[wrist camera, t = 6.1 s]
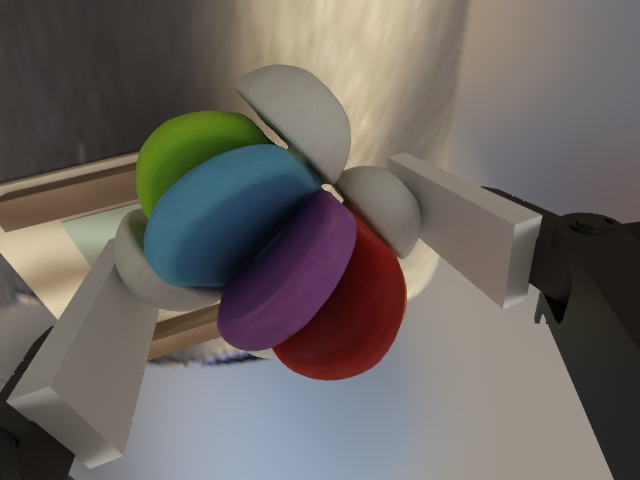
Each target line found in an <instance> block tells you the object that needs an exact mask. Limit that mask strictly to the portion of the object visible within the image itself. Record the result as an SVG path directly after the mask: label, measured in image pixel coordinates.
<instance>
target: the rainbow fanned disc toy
mask: <svg viewBox="0 0 640 480" xmlns="http://www.w3.org/2000/svg"><path fill="white" fill-rule="evenodd" d="M235 90H236V91H237V93H238V94H239V95H240V96H241V97H242V98H243V99H244V100H245V101H246V102H247V103H248V104H249V105H250V106H251V107H252V108H253V109H254V110H255V111H256V113H257V115H258V116H259V118H260V119H262V120H263V122H264V123H265V124H266V125H267V126H269V127H270V128H271V129H272V130H273V131H274V132H275V133H277V135H278V136H279V137H280V138H281V139H282V140H283V141H284V142H285V143H286V144H287V145H288V147H289V148H288V149H285V148H283V147H280V146H278V145H276V144H275V143H273V142H272V141H271V140H270V139H268V138H267V137H266V135H265V134H264V133H263V132H262V131H261V129H260V128H259V127H258V126H257V125H256V124H255V123H254V122H253V121H251V120H250V119H249V118H248V117H247V116H245V115H242V114H239V113H228V112H222V111H198V112H193V113H188V114H184V115H181V116H178V117H175V118H173V119H170V120H168V121H166V122H165V123H163V124H162V125H160V126H159V127H158V128H157V129H156V130H155V131H154V132H153V133H152V134H151V135H150V137H149V138H148V139H147V140H146V141H145V143H144V144H143V146H142V148H141V150H140V152H139V155H138V160H137V164H136V188H137V194H138V199H139V202H140V205H141V207H142V209H135V210H132V211H130V212H128V213H127V214H126V215H125V216H124V217H123V218H122V220H121V222H120V225H119V227H118V229H117V232H116V235H115V240H114V260H115V264H116V268H117V271H118V273H119V275H120V277H121V279H122V281H123V282H124V284H125V285H126V286H127V288H128V289H129V290H130V291H131V292H132V293H133V294H134V295H136V296H137V297H138V298H139V299H141V300H142V301H144V302H146V303H147V304H149V305H152V306H154V307H157V308H160V309H163V310H168V311H176V312H185V311H194V310H199V309H202V308H205V307H208V306H210V305H212V304H214V303H216V302H218V301H220V305H219V310H218V314H217V329H218V331H219V333H220V335H221V336H222V337H223V339H224V340H225V341H226V342H228V343H229V344H230V345H232V346H233V347H235V348H238V349H240V350H244V351H246V352H248V353H250V354H252V355H254V356H257V357H261V358H267V359H278V358H279V359H280V360H281V362H282V363H283V364H284V365H286V366H287V367H288V368H290V369H291V370H293V371H294V372H296V373H298V374H301V375H304V376H306V377H309V378H313V379H318V380H327V381H328V380H339V379H345V378H350V377H353V376H356V375H358V374H361V373H363V372H365V371H367V370H369V369H371V368H372V367H373V366H375V365H376V364H377V363H378V362H379V361H381V359H382V358H383V356H384V355H385V354H386V353H387V352H388V350H389V348H390V346H391V345H392V343H393V342H394V340H395V337H396V335H397V333H398V330H399V327H400V325H401V323H402V320H403V317H404V314H405V310H406V305H407V289H406V283H405V279H404V275H403V272H402V269H401V267H400V265H399V262H398V259H397V257H399V258H401V259H405V258H406V257H407V256H408V255H409V254H410V252H411V251H412V250H413V248H414V246H415V244H416V242H417V240H418V237H419V234H420V228H421V211H420V207H419V204H418V202H417V200H416V198H415V197H414V195H413V194H412V193H411V191H410V190H409V189H408V188H407V187H406V186H405V185H404V184H403V183H402V182H401V181H400V180H399V179H398V178H397V177H396V176H395V175H393V174H392V173H391V172H389V171H387V170H385V169H383V168H380V167H373V166H359V167H354V168H350V169H347V170H345V171H343V170H344V168H345V165H346V163H347V159H348V156H349V152H350V145H351V132H350V124H349V120H348V117H347V114H346V112H345V110H344V109H343V107H342V106H341V104H340V102H339V101H338V100H337V99H336V97H335V96H334V95H333V93H332V92H331V91H330V90H329V89H328V88H327V87H326V86H325V85H324V84H323V83H322V82H321V81H320V80H319V79H318V78H316V77H315V76H314V75H313V74H312V73H310V72H308V71H307V70H304V69H302V68H298V67H294V66H288V65H270V66H265V67H262V68H259V69H256V70H254V71H252V72H250V73H248V74H246V75H245V76H244V77H242V78H241V79H239V80H238V81H237V82H236V84H235ZM323 184H330V185H332V187H333V188H334V189H335V191H336V192H337V193H338V194H339V195H340V196H341V197H342V199H343V200H344V201H343V203H341V202H339V201H338V200H337V199H336V198H335V197H334V196H333V195H332V193H331V192H328V191H325V190H324V189H323V188H322V187H321V185H323Z"/></svg>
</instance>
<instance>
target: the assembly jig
mask: <svg viewBox="0 0 640 480" xmlns="http://www.w3.org/2000/svg"><path fill="white" fill-rule="evenodd" d="M139 152H140V151H138V152H133V153H129V154H125V155H121V156H116V157H112V158H108V159H103V160H99V161H95V162H91V163H86V164H82V165H78V166H73V167H69V168H65V169H60V170H56V171H52V172H48V173H43V174H39V175H35V176H30V177H26V178H22V179H18V180H13V181H9V182H5V183H0V253H1V254H2V255H3V256H4V257H5V259H6V260H7V261H8V262H9V263H10V265H11V266H12V267H13V268H14V269H15V270H16V272H17V273H18V274H19V275H20V276H21V277H22V279H23V280H24V281H25V282H26V283H27V284H28V286H29V287H30V288H31V289H32V290H33V291H34V293H35V294H36V295H37V296H38V297H39V299H40V300H41V301H42V302H43V303H44V304H45V306H46V307H47V308H48V309H49V310H50V311H51V313H52V314H53V315H54V316H55V317H56V318H57V320H58V319H59V318H60V316H61V315H62V313H63V311H64V310H65V308H66V307H67V305H68V304H69V302H70V300H71V299H72V297H73V296H74V294H75V293H76V291H77V289H78V288H79V286H80V285H81V283H82V282H83V280H84V278H85V277H86V275H87V274H88V272H89V271H90V269H91V267H92V266H93V264H94V263H95V261H96V260H97V258H98V257H99V255H100V253H101V252H102V250H103V249H104V247H105V246H106V244H107V242H108V241H109V239H113V238H115V235H116V232H117V229H118V227H119V225H120V222H121V220H122V218H123V217H124V216H125V215H126V214H127V213H128V212H130V211H132V210H135V209H142V207H141V205H140V202H139V199H138V194H137V188H136V164H137V160H138V155H139ZM219 305H220V301H218V302H216V303H214V304H212V305H210V306H208V307H205V308H202V309H199V310H194V311H185V312H176V311H168V310H163V309H159V313H158V317H157V322H156V326H155V330H154V334H153V338H152V342H151V346H150V350H149V354H148V358H147V361H148V360H151V359H154V358H157V357H160V356H163V355H166V354H169V353H172V352H175V351H178V350H181V349H184V348H187V347H190V346H193V345H196V344H199V343H202V342H205V341H208V340H211V339H214V338H217V337H220V336H221V335H220V333H219V331H218V329H217V314H218V310H219Z"/></svg>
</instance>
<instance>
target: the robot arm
mask: <svg viewBox="0 0 640 480" xmlns="http://www.w3.org/2000/svg"><path fill="white" fill-rule="evenodd" d="M388 164H389V172H391V173H392V174H393V175H395V176H396V177H397V178H398V179H399V180H400V181H401V182H402V183H403V184H404V185H405V186H406V187H407V188H408V189H409V190H410V191H411V193H412V194H413V195H414V197H415V198H416V200H417V202H418V204H419V207H420V211H421V228H420V234H419V238H420V239H421V240H422V241H423V242H425V243H426V244H427V245H428V246H429V247H431V248H432V249H433V250H434V251H435V252H436V253H438V254H439V255H440V256H441V257H442V258H443V259H445V260H446V261H447V262H448V263H449V264H450V265H452V266H453V267H454V268H455V269H456V270H458V271H459V272H460V273H461V274H462V275H463V276H465V277H466V278H467V279H468V280H469V281H471V282H472V283H473V284H474V285H475V286H476V287H478V288H479V289H480V290H481V291H482V292H484V293H485V294H486V295H487V296H488V297H489V298H490V299H492V300H493V301H494V302H495V303H496V304H498V305H499V306H500V307H501V308H502V309H504V308H506V307H509V306H512V305H514V304H517V303H519V302H522V301H525V300H526V297H527V292H528V287H529V283H530V284H532V285H533V286H535V287H536V288H538V289H539V290H540V294H539V298H538V303H537V308H536V312H535V317H534V320H535V323H538V324H539V323H540V319H541V315H542V314H544V316H545V319H546V324H548V326H549V328H550V330H551V333H552V335H553V337H554V339H555V342H556V344H557V347H558V349H559V351H560V354H561V356H562V358H563V361H564V363H565V365H566V368H567V370H568V373H569V375H570V377H571V380H572V382H573V384H574V387H575V389H576V391H577V394H578V396H579V398H580V401H581V403H582V405H583V408H584V410H585V413H586V415H587V417H588V419H589V422H590V424H591V427H592V429H593V431H594V434H595V436H596V438H597V441H598V443H599V446H600V448H601V450H602V453H603V454H604V457H605V460H606V462H607V464H608V467H609V469H610V471H611V473H612V476H613V478H614V480H640V222H634V223H626V224H621V223H619V222H618V221H616V220H615V219H612V218H610V217H607V216H604V215H598V214H593V213H571V214H566V215H563V216H559V215H556V214H554V213H552V212H549V211H547V210H544V209H542V208H540V207H538V206H535V205H533V204H531V203H528V202H526V201H524V202H523V200H522V199H519V198H517V197H515V196H514V197H512V195H510V194H508V193H506V192H503V191H501V190H499V189H493V188H489V187H483V186H481V187H479V186H477V185H475V184H473V183H470V182H468V181H466V180H464V179H462V178H460V177H457V176H455V175H453V174H451V173H449V172H446V171H444V170H442V169H440V168H438V167H436V166H433V165H431V164H429V163H427V162H425V161H422V160H420V159H418V158H416V157H414V156H411V155H409V154H407V153H405V152H404V153H401V154H398V155H394V156H391V157H388ZM114 240H115V238H113V239H109V241H108V242H107V244H106V246H105V247H104V249H103V250H102V252H101V253H100V255H99V257H98V258H97V260H96V261H95V263H94V264H93V266H92V267H91V269H90V271H89V272H88V274H87V275H86V277H85V278H84V280H83V282H82V283H81V285H80V286H79V288H78V289H77V291H76V293H75V294H74V296H73V297H72V299H71V300H70V302H69V304H68V305H67V307H66V308H65V310H64V311H63V313H62V315H61V316H60V318H59V319H58V321H57V323H56V324H55V326H52V327H50V328H49V329H48V330H47V331H46V332H45V333H44V334H43V335H41V336H40V337H39V338H38V339H37V340H36V341H35V342H34V343H33V345H32V346H31V348H30V349H29V351H28V352H27V354H26V355H25V357H24V358H23V359H24V361H22V362H21V363H20V364H19V366H18V367H17V369H16V370H15V371H14V373H15V375H12V376H11V377H10V379H9V380H8V382H7V383H6V385H5V386H4V388H3V389H2V391H1V392H0V480H74V479H73V478H72V477H71V476H69V475H68V473H69V471H70V468H71V465H72V463H73V460H74V457H76V458H77V459H78V460H80V461H81V462H82V463H83V464H85V465H86V466H87V467H88V468H93V467H96V466H98V465H101V464H103V463H106V462H109V461H111V460H113V459H116V458H119V457H121V456H123V455H124V452H125V448H126V444H127V440H128V436H129V432H130V427H131V423H132V419H133V415H134V411H135V407H136V403H137V399H138V395H139V390H140V386H141V383H142V378H143V374H144V370H145V366H146V362H147V358H148V354H149V350H150V346H151V342H152V338H153V334H154V330H155V326H156V322H157V317H158V313H159V309H160V308H157V307H154V306H152V305H149V304H147V303H146V302H144V301H142V300H141V299H139V298H138V297H137V296H136V295H134V294H133V293H132V292H131V291H130V290H129V289H128V288H127V286H126V285H125V284H124V282H123V281H122V279H121V277H120V275H119V273H118V271H117V268H116V264H115V260H114Z"/></svg>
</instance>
